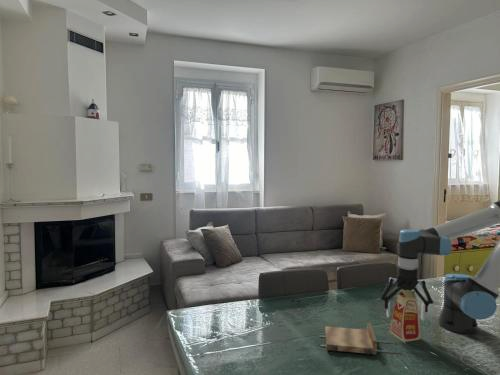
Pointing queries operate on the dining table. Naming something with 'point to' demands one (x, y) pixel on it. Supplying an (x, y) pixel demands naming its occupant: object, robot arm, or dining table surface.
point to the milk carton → (406, 317)
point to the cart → (351, 339)
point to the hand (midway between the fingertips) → (405, 318)
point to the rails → (377, 350)
